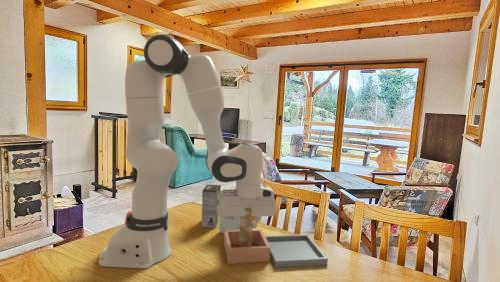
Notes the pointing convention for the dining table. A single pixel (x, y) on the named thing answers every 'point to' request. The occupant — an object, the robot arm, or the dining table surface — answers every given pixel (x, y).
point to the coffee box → (210, 206)
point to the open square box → (246, 248)
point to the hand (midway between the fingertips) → (246, 227)
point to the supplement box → (228, 224)
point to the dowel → (246, 228)
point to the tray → (295, 251)
